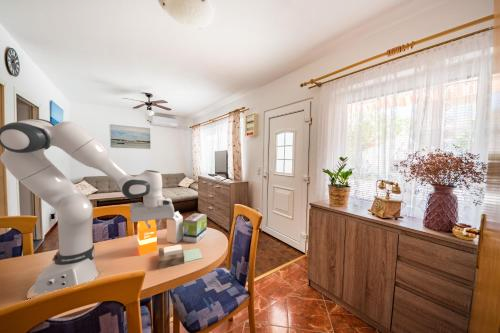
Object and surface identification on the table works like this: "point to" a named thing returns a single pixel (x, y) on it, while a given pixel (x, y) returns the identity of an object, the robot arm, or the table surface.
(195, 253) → the mat
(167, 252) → the beige flat block
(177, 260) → the block
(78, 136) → the robot arm
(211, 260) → the table surface
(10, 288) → the table surface
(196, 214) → the tea box
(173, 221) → the milk carton
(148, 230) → the orange juice
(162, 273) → the table surface
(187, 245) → the table surface
